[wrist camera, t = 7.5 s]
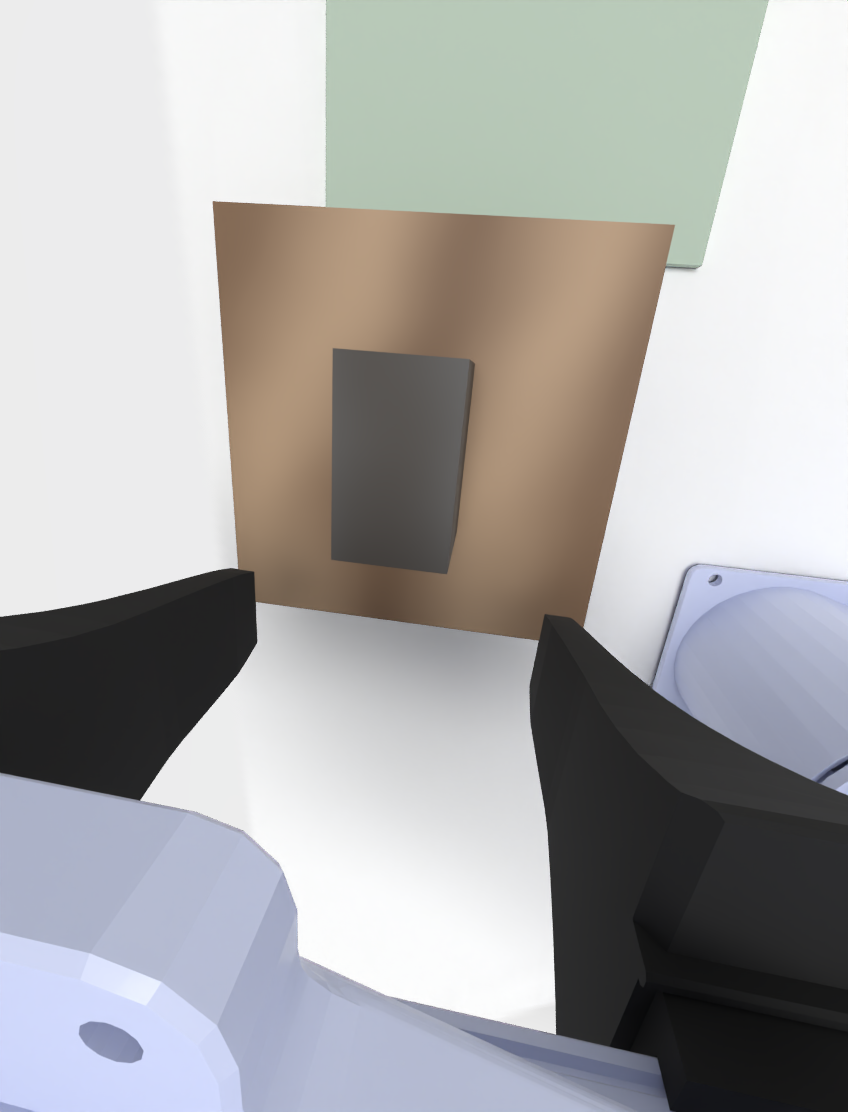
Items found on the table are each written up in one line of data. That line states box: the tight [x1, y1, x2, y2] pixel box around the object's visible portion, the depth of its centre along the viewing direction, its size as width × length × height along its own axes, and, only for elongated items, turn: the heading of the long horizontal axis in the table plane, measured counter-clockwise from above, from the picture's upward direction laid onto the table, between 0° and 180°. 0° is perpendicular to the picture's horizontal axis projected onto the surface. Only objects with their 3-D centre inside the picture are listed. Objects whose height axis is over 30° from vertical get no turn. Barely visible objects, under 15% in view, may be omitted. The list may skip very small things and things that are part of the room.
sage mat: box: [326, 0, 769, 268], centre depth 14 cm, size 13×13×1 cm
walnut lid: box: [213, 201, 675, 640], centre depth 13 cm, size 12×12×4 cm
